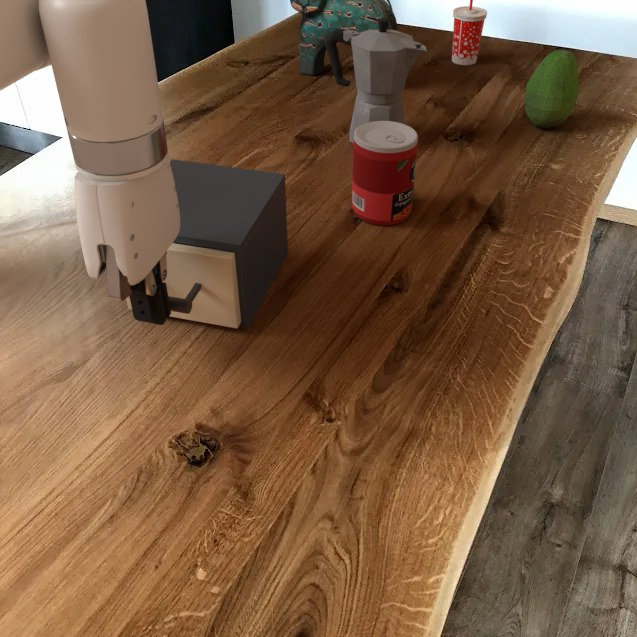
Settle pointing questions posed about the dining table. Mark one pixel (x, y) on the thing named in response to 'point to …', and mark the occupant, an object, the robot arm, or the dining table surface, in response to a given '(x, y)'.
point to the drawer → (202, 285)
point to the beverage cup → (467, 33)
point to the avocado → (552, 89)
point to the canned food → (383, 172)
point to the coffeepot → (376, 71)
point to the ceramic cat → (335, 25)
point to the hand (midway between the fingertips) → (152, 317)
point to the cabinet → (235, 222)
